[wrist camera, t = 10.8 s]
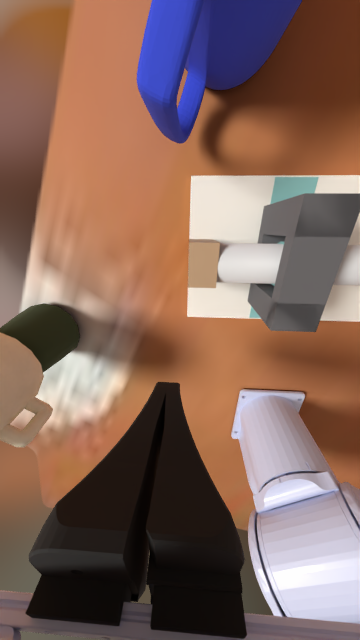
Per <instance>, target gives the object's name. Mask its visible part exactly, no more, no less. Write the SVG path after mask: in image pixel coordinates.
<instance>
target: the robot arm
mask: <svg viewBox="0 0 360 640" xmlns="http://www.w3.org/2000/svg"><path fill="white" fill-rule="evenodd" d="M304 398H305V395H304V393H303V392H293V391H271V390H248V389H243V390H241V391H240V393H239V398H238V403H237V408H236V413H235V418H234V423H233V428H232V433H231V435H232V438H234V439H239V442H240V446H241V451H242V455H243V459H244V464H245V468H246V472H247V477H248V481H249V484H250V487H251V490H252V492H253V494H254V495H253V499H254V503H255V507H256V509H254V510H253V511H252V512H251V514H250V518H249V528H248V540H249V548H250V554H251V559H252V563H253V567H254V570H255V574H256V577H257V580H258V582H259V585H260V588H261V590H262V593H263V595H264V597H265V599H266V601H267V603H268V605H269V606H270V608H271V610H272V612H273V614H274V616H270V615H260V614H249V613H244V610H243V602H242V595H241V593H242V583H241V577H240V571H241V568H242V566H243V564H244V553H243V549H242V545H241V542H240V538H239V535H238V532H237V530H236V527H235V524H234V521H233V519H232V516H231V513H230V512H229V510H228V508H227V506H226V505H225V503H224V501H223V500H222V498H221V496H220V494H219V492H218V491H217V489H216V487H215V485H214V483H213V481H212V479H211V478H210V475H209V473H208V471H207V469H206V467H205V465H204V463H203V461H202V459H201V457H200V455H199V452H198V450H197V448H196V445H195V443H194V440H193V438H192V435H191V432H190V430H189V427H188V424H187V421H186V417H185V414H184V410H183V406H182V402H181V396H180V384H179V383H169V382H158V383H156V386H155V388H154V390H153V392H152V394H151V396H150V397H149V399H148V401H147V403H146V404H145V406H144V407H143V409H142V411H141V412H140V414H139V415H138V417H137V418H136V419H135V421H134V422H133V424H132V425H131V427H130V428H129V429H128V431H127V432H126V433H125V434H124V436H123V437H122V438H121V439H120V441H119V442H118V443H117V444H116V445H115V446H114V447H113V449H112V450H111V451H110V452H109V453H108V454H107V455H106V456H105V458H104V459H103V460H102V461H101V462H100V463H99V464H98V465H97V466H96V467H95V468H94V469H93V470H92V471H91V472H90V473H89V474H88V475H87V476H86V477H85V478H84V479H83V480H82V481H81V482H80V483H78V484H77V485H76V486H75V487H74V488H73V489H72V490H71V491H70V492H68V493H67V494H66V495H65V496H64V497H63V498H62V499H61V500H60V501H58V502H57V504H56V505H55V507H54V508H53V510H52V512H51V513H50V515H49V517H48V519H47V520H46V522H45V524H44V525H43V527H42V529H41V531H40V534H39V535H38V537H37V540H36V542H35V543H34V545H33V548H32V550H31V552H30V553H29V561H30V563H31V564H32V565H33V566H34V567H35V568H36V569H37V570H38V571H39V572H40V573H41V574H42V576H41V578H40V581H39V583H38V585H37V587H36V590H35V592H34V593H24V592H14V591H3V590H0V640H21V634H20V631H25V632H35V633H45V634H54V635H64V636H74V637H84V638H94V639H104V640H360V489H358V488H356V487H354V486H352V485H351V484H350V483H348V482H344V483H340V482H339V481H338V480H337V478H336V477H335V475H334V473H333V471H332V470H331V468H330V466H329V465H328V463H327V461H326V459H325V458H324V456H323V454H322V453H321V451H320V449H319V448H318V446H317V444H316V442H315V441H314V439H313V437H312V436H311V434H310V432H309V430H308V429H307V427H306V425H305V424H304V422H303V420H302V419H301V417H300V415H299V410H300V408H301V405H302V403H303V400H304ZM149 550H150V556H149ZM148 556H149V557H148ZM148 558H149V564H148ZM147 568H148V572H147ZM146 578H147V580H146ZM146 584H147V585H149V588H150V593H151V604H141V603H131V601H134V602H138V599H139V598H140V597H141V595H142V594H143V592H144V591H145V587H146Z"/></svg>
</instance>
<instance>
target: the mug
mask: <svg viewBox="0 0 360 640" xmlns="http://www.w3.org/2000/svg"><path fill="white" fill-rule="evenodd" d="M301 2H302V0H152V3H151V7H150V12H149V16H148V20H147V24H146V29H145V33H144V38H143V43H142V48H141V54H140V59H139V64H138V71H137V84H138V89H139V92H140V94H141V97H142V99H143V101H144V103H145V105H146V107H147V109H148V111H149V113H150V115H151V117H152V119H153V120H154V122H155V124H156V125H157V127H158V128H159V130H160V131H161V132H162V133H163V134H164V135H165V136H166V137H167V138H169V139H170V140H172V141H174V142H176V143H184V142H185V141H186V140H187V139H188V137H189V135H190V133H191V131H192V129H193V126H194V123H195V121H196V118H197V115H198V112H199V109H200V105H201V102H202V99H203V95H204V91H205V87H208V88H211V89H215V90H226V89H230V88H234V87H236V86H238V85H240V84H242V83H244V82H245V81H247V80H248V79H249V78H250V77H252V76H253V75H254V74H255V73H256V72H257V71H258V70H259V69H260V68H261V66H262V65H263V64H264V63H265V62H266V60H267V59H268V58H269V56H270V55H271V53H272V52H273V50H274V49H275V47H276V45H277V44H278V42H279V40H280V39H281V37H282V35H283V33H284V32H285V30H286V28H287V26H288V25H289V23H290V21H291V19H292V18H293V16H294V14H295V12H296V11H297V9H298V7H299V5H300V4H301ZM184 68H185V69H186V70H187V71H188V74H187V79H186V82H185V86H184V89H183V93H182V96H181V99H180V102H179V106H178V108H177V105H176V102H177V94H178V90H179V86H180V82H181V79H182V75H183V72H184Z"/></svg>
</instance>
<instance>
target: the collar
mask: <svg viewBox="0 0 360 640" xmlns="http://www.w3.org/2000/svg"><path fill="white" fill-rule="evenodd" d="M359 213H360V193H305V194H301V195H298V196H295V197H292V198H289V199H285V200H282V201H279V202H276V203H273V204H270V205H266V206H264V209H263V215H262V220H261V226H260V232H259V238H258V243H257V244H277V243H279V242H284V246H283V251H282V255H281V259H280V264H279V268H278V272H277V277H276V281H275V285H274V286H273V285H272V284H265V283H251V284H250V289H249V295H248V302H249V304H250V305H251V306H252V307H253V309H254V310H255V311H256V312H257V314H258V315H259V316H260V317H261V319H262V320H263V321H264V323H265V324H266V325H267V326H268V328H269V329H270V330H272V331H303V332H316V330H317V327H318V324H319V322H320V319H321V316H322V313H323V311H324V308H325V305H326V303H327V300H328V297H329V294H330V292H331V289H332V286H333V284H334V281H335V278H336V275H337V273H338V270H339V267H340V264H341V262H342V259H343V256H344V254H345V251H346V248H347V245H348V243H349V240H350V237H351V235H352V232H353V229H354V226H355V224H356V221H357V218H358V216H359Z"/></svg>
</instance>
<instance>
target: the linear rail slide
mask: <svg viewBox="0 0 360 640" xmlns="http://www.w3.org/2000/svg"><path fill="white" fill-rule="evenodd" d="M305 193H360V175H319V176H191V202H190V238H189V263H188V309H187V317H218V318H252V319H261V317H260V316H259V315H258V314H257V312H256V311H255V310H254V309H253V307H252V306H251V305H250V304H249V302H248V295H249V289H250V284H251V283H265V284H272V285H273V286H274V285H275V281H276V277H277V272H278V268H279V264H280V259H281V255H282V251H283V246H284V242H279V243H277V244H257V243H258V238H259V232H260V226H261V220H262V215H263V209H264V206H266V205H270V204H273V203H276V202H279V201H282V200H285V199H289V198H292V197H295V196H298V195H301V194H305ZM320 320H321V321H355V322H360V213H359V216H358V218H357V221H356V224H355V226H354V229H353V232H352V235H351V237H350V240H349V243H348V245H347V248H346V251H345V254H344V256H343V259H342V262H341V264H340V267H339V270H338V273H337V275H336V278H335V281H334V284H333V286H332V289H331V292H330V294H329V297H328V300H327V303H326V305H325V308H324V311H323V313H322V316H321V319H320Z"/></svg>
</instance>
